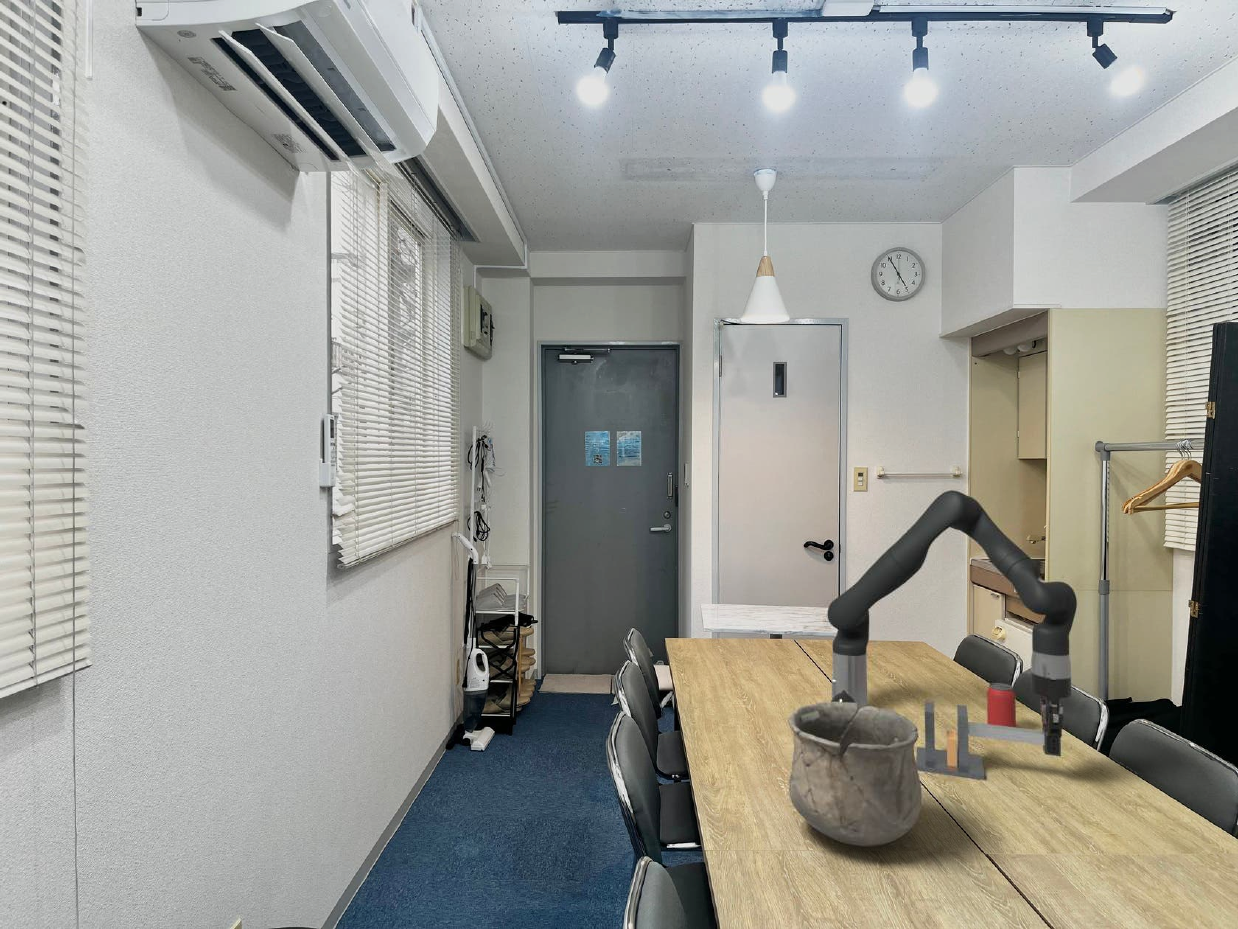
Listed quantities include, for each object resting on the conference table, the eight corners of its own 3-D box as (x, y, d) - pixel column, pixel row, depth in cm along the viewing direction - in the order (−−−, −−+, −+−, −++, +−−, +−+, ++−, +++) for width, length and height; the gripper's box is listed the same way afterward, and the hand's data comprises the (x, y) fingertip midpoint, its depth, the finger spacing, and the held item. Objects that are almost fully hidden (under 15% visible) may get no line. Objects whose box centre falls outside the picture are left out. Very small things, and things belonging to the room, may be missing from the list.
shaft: (969, 744, 160) (968, 718, 160) (968, 739, 163) (968, 713, 163) (1060, 756, 153) (1060, 729, 153) (1058, 751, 156) (1058, 724, 156)
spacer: (947, 765, 161) (946, 739, 161) (947, 755, 166) (946, 730, 166) (957, 766, 160) (956, 740, 160) (956, 756, 165) (955, 731, 165)
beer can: (1020, 737, 179) (1019, 690, 180) (992, 735, 181) (991, 689, 181) (1011, 728, 186) (1010, 682, 186) (984, 726, 187) (983, 681, 187)
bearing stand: (915, 770, 161) (915, 713, 161) (917, 750, 172) (916, 697, 172) (984, 780, 155) (983, 721, 155) (981, 759, 166) (980, 705, 166)
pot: (846, 882, 117) (844, 754, 117) (763, 819, 139) (761, 711, 139) (953, 849, 127) (951, 731, 127) (861, 795, 149) (859, 694, 149)
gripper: (1027, 662, 163) (1028, 736, 163) (1035, 679, 150) (1036, 759, 150) (1065, 666, 160) (1066, 741, 160) (1076, 683, 147) (1077, 765, 147)
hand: (1051, 749), depth 155 cm, fingers closed on shaft, 3 cm apart
